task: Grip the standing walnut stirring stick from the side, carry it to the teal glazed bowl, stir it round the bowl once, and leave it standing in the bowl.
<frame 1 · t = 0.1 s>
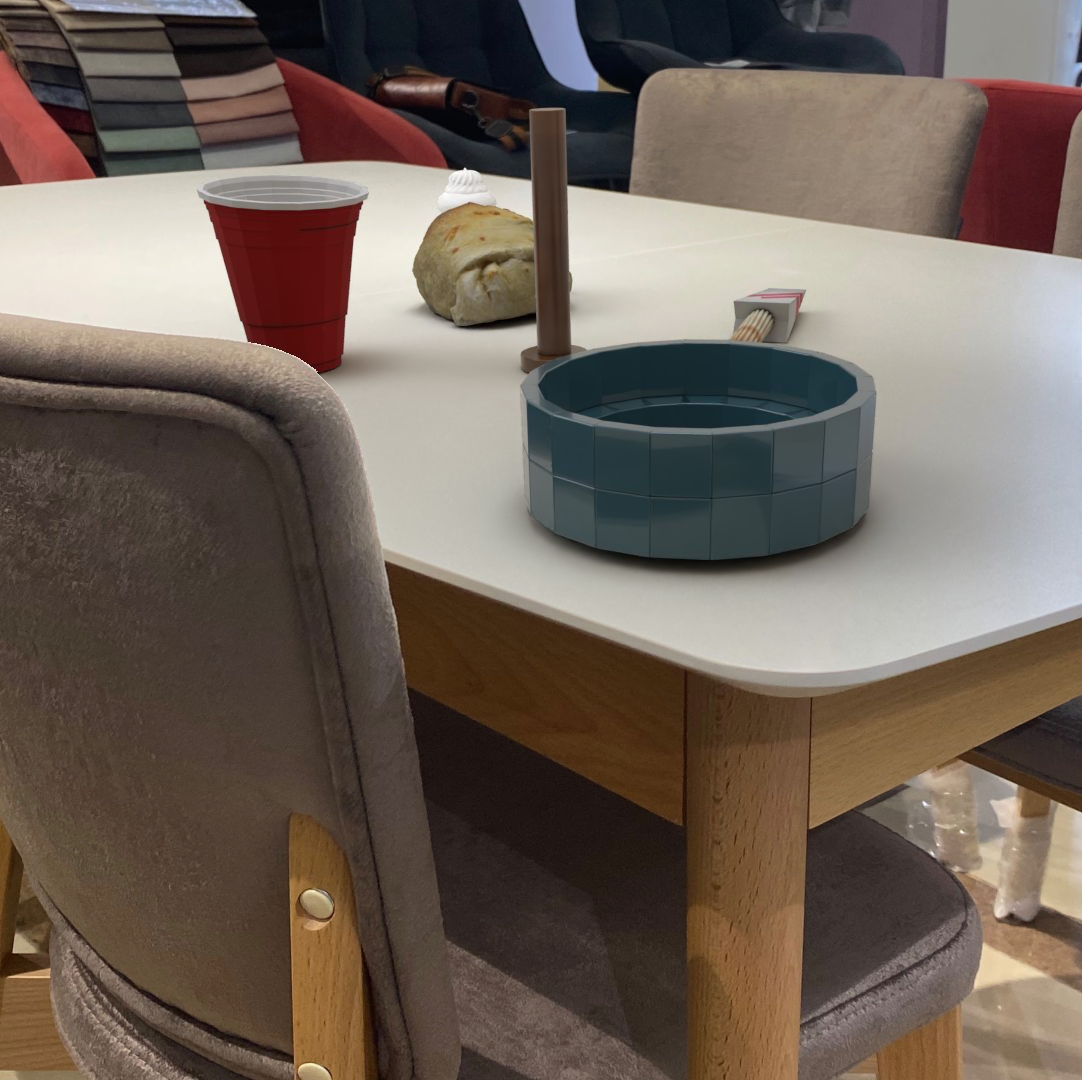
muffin: (468, 239, 134), on the table
stirrer: (554, 366, 85), on the table
pastry: (492, 311, 102), on the table
plastic cup: (302, 368, 87), on the table
box of toothpicks: (758, 345, 89), on the table
bowl: (694, 505, 60), on the table
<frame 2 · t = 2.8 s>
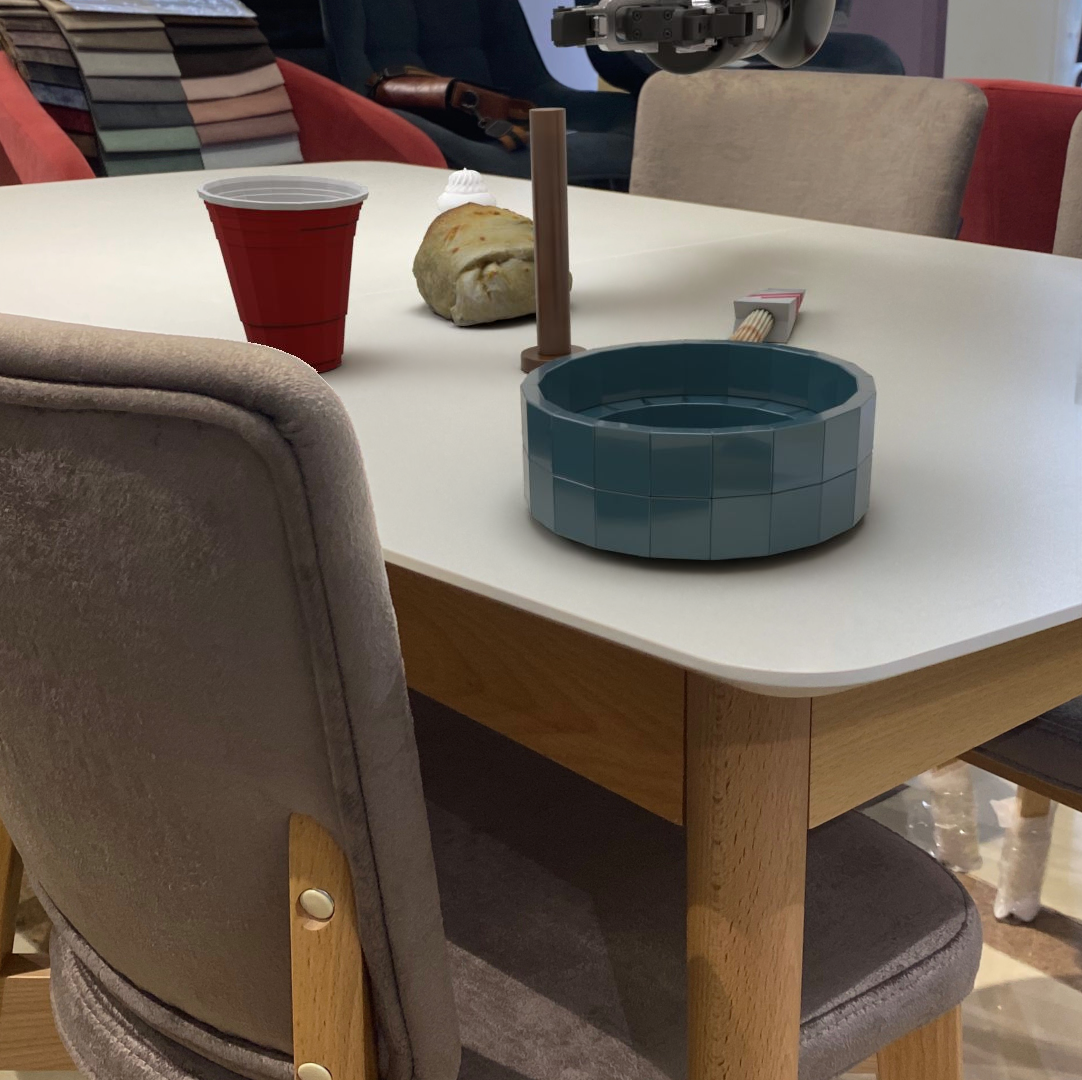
hand: (616, 30, 85), 20 cm above the table, tool horizontal, fingers open, 8 cm apart
nothing on the table moved.
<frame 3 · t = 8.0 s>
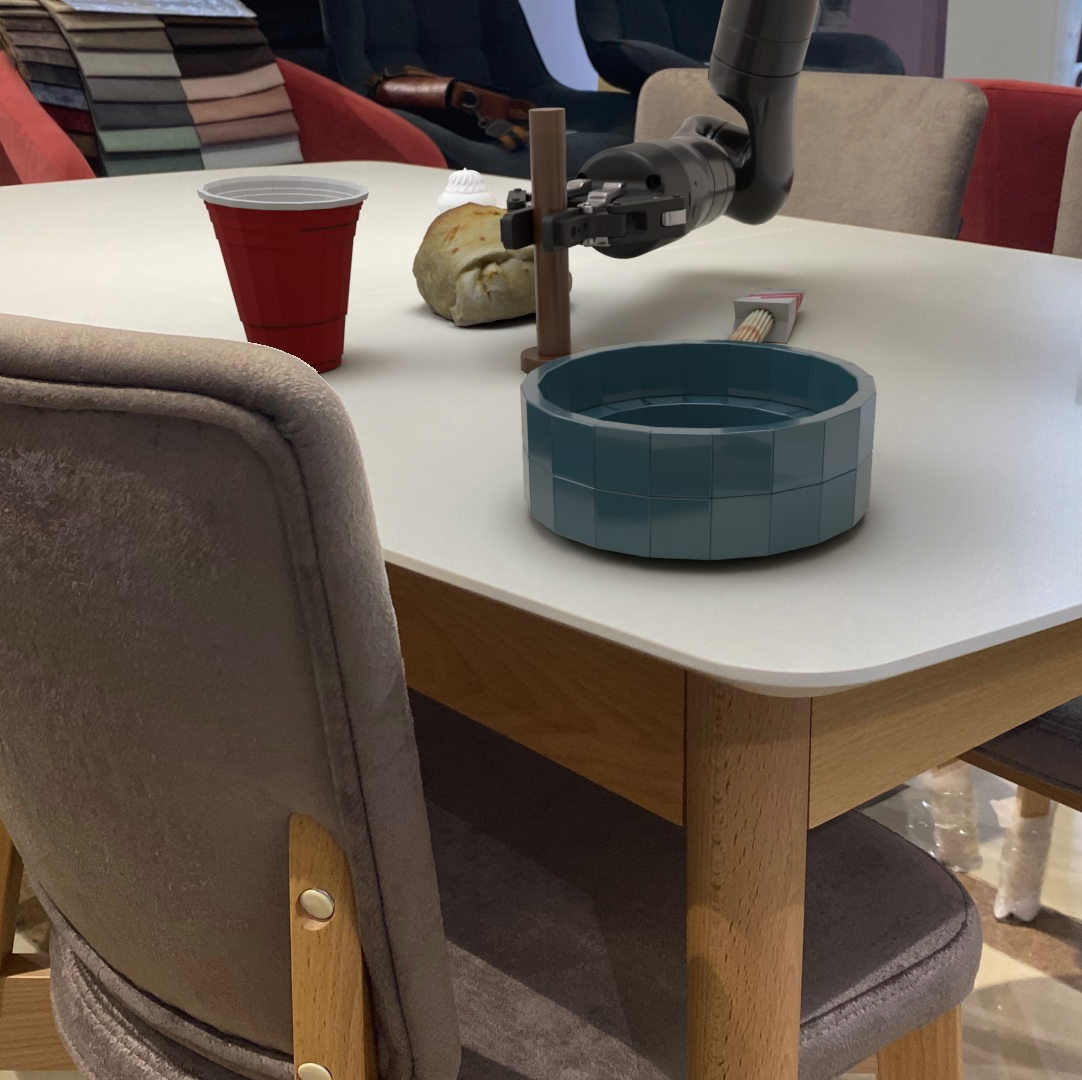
hand: (528, 233, 79), 9 cm above the table, tool horizontal, fingers closed on stirrer, 2 cm apart
stirrer: (554, 366, 85), on the table, touching gripper
everything else where it was.
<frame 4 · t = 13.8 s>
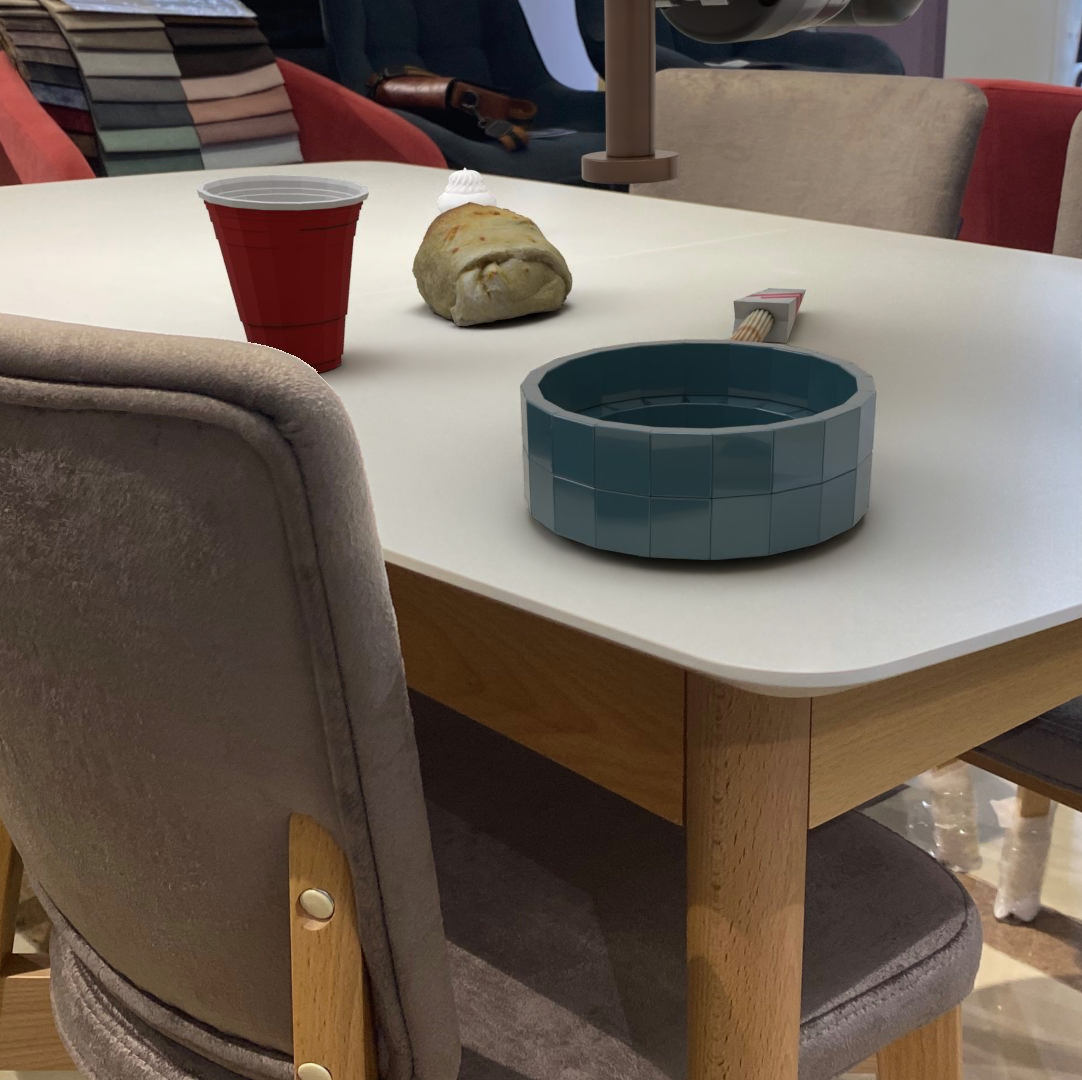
stirrer: (630, 177, 58), point 14 cm above the table, touching gripper
everything else where it was.
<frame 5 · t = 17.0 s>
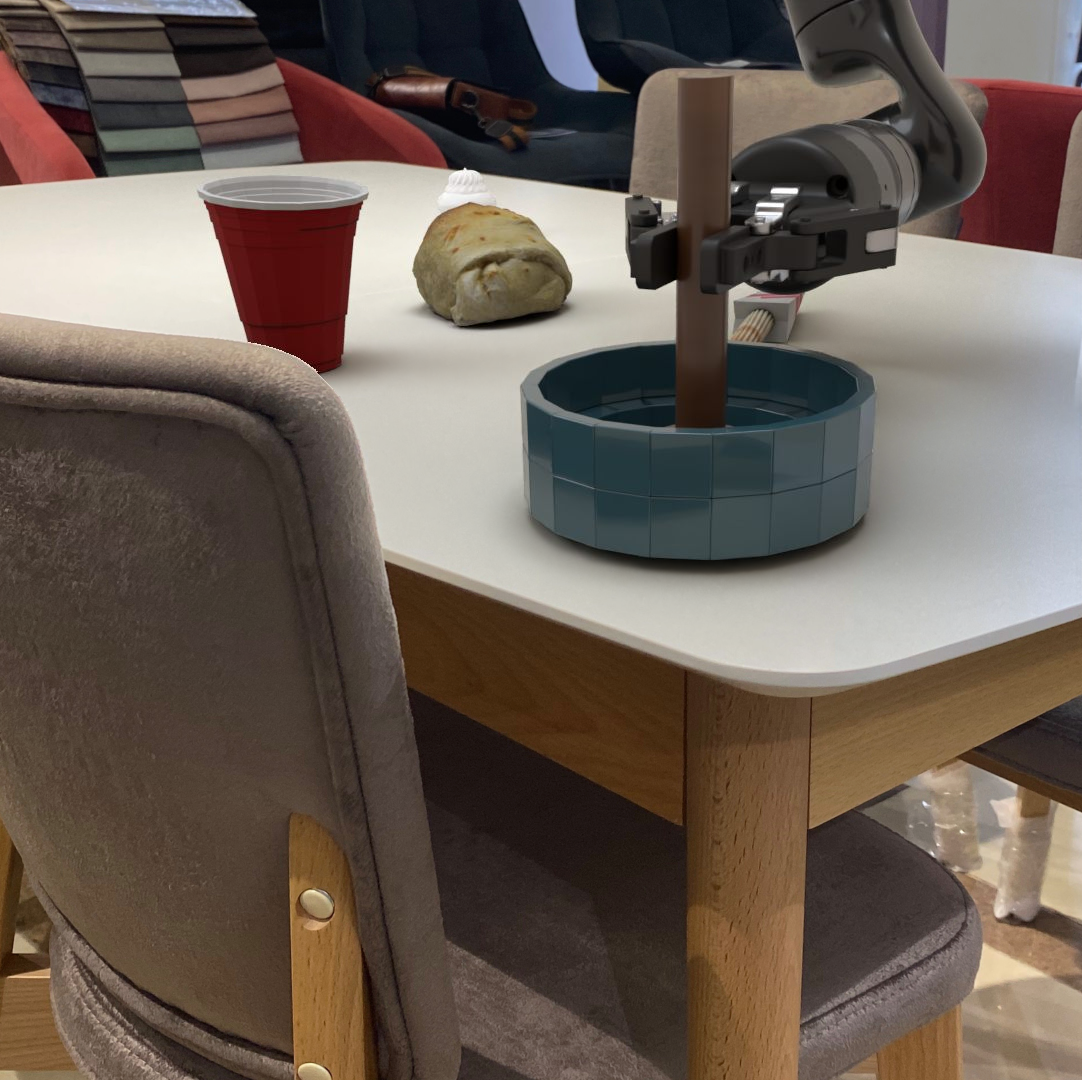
hand: (676, 266, 52), 12 cm above the table, tool horizontal, fingers closed on stirrer, 2 cm apart
stirrer: (699, 458, 58), point 3 cm above the table, touching gripper
everything else where it was.
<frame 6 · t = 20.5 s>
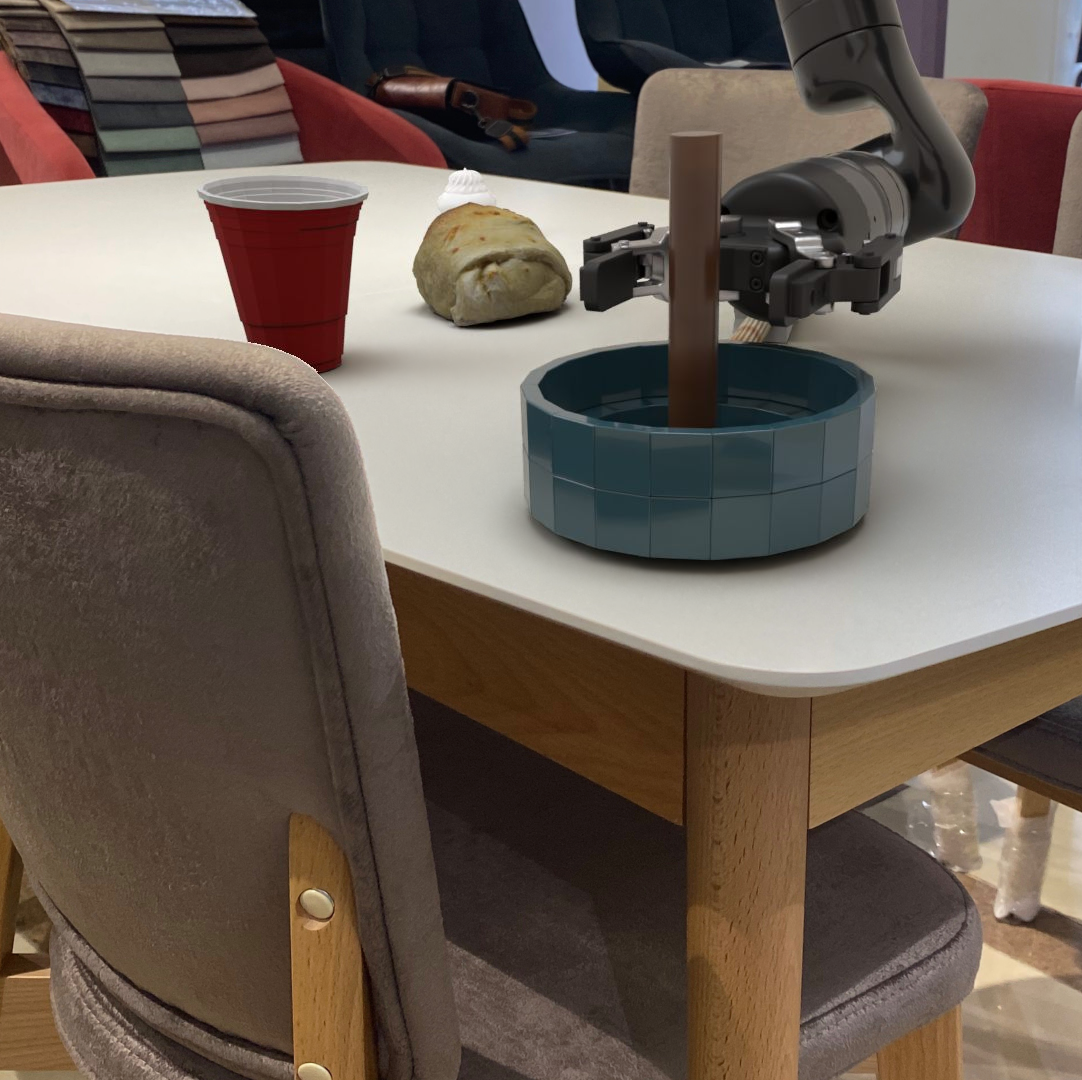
hand: (680, 295, 55), 10 cm above the table, tool horizontal, fingers open, 8 cm apart
stirrer: (691, 493, 60), point 1 cm above the table, touching bowl
everything else where it was.
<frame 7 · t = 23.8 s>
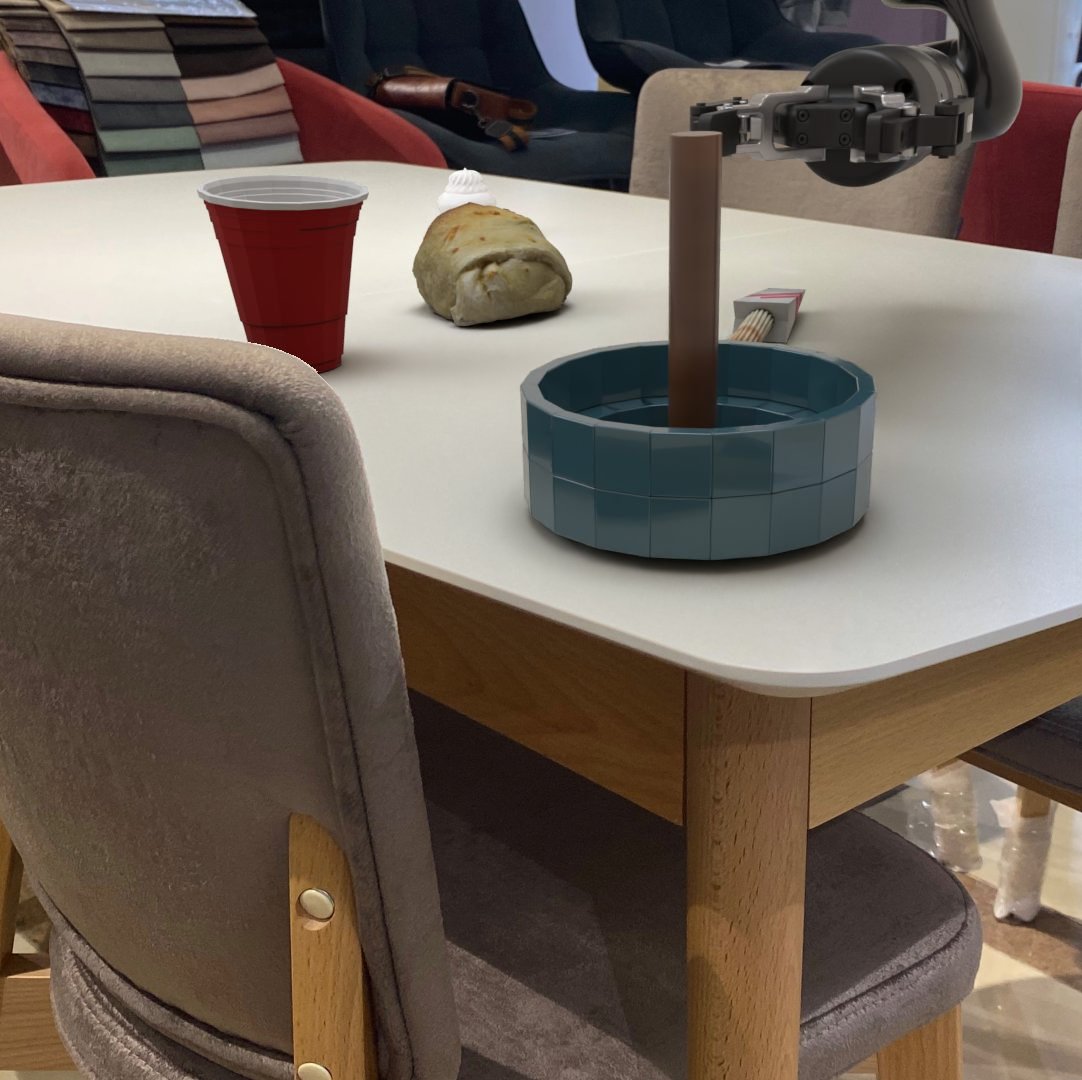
hand: (786, 138, 63), 15 cm above the table, tool horizontal, fingers open, 8 cm apart
nothing on the table moved.
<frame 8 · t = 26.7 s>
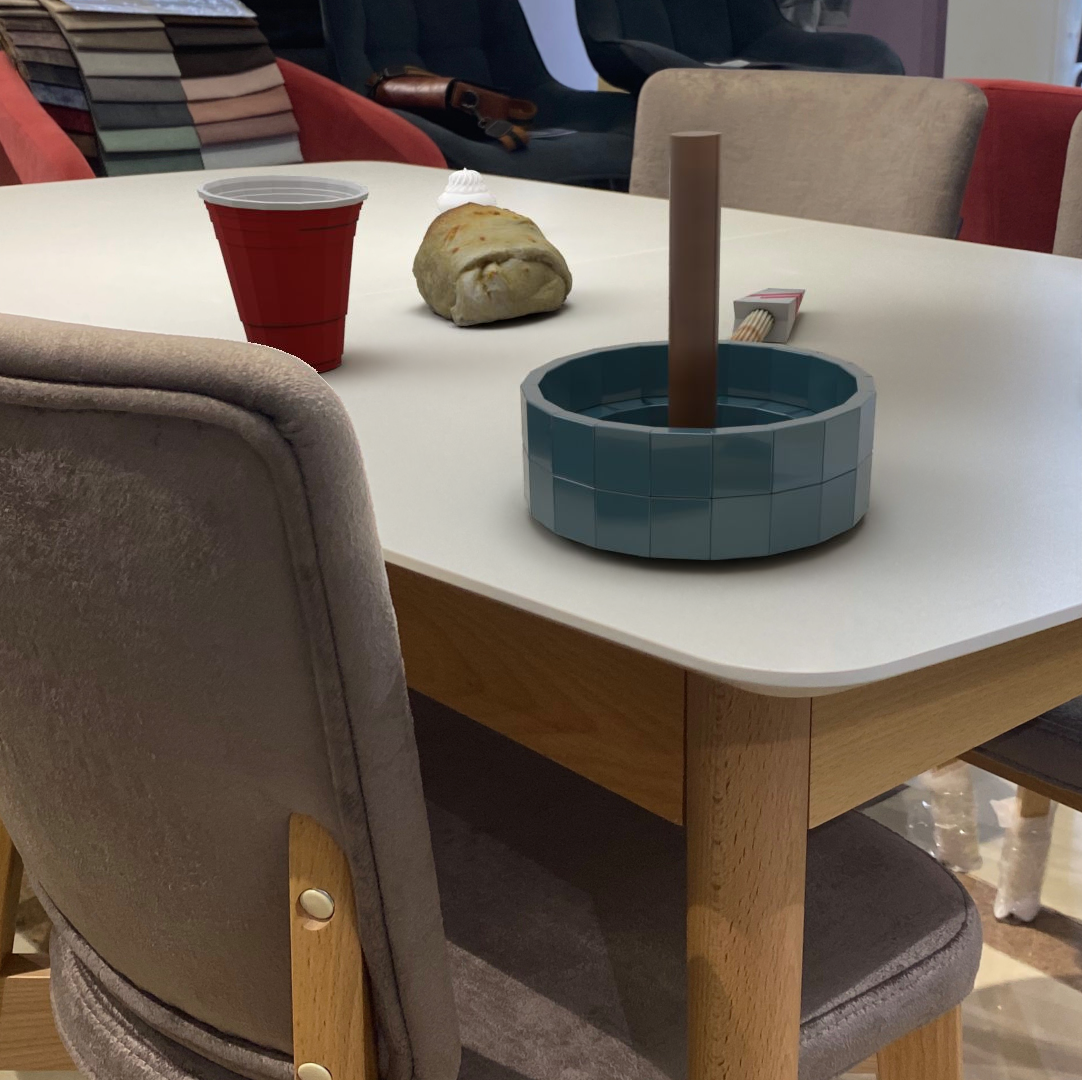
nothing on the table moved.
at the end: stirrer inside the target area in the bowl (0.2 cm from its centre), point 0.6 cm above the bowl's base; the gripper is holding nothing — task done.
